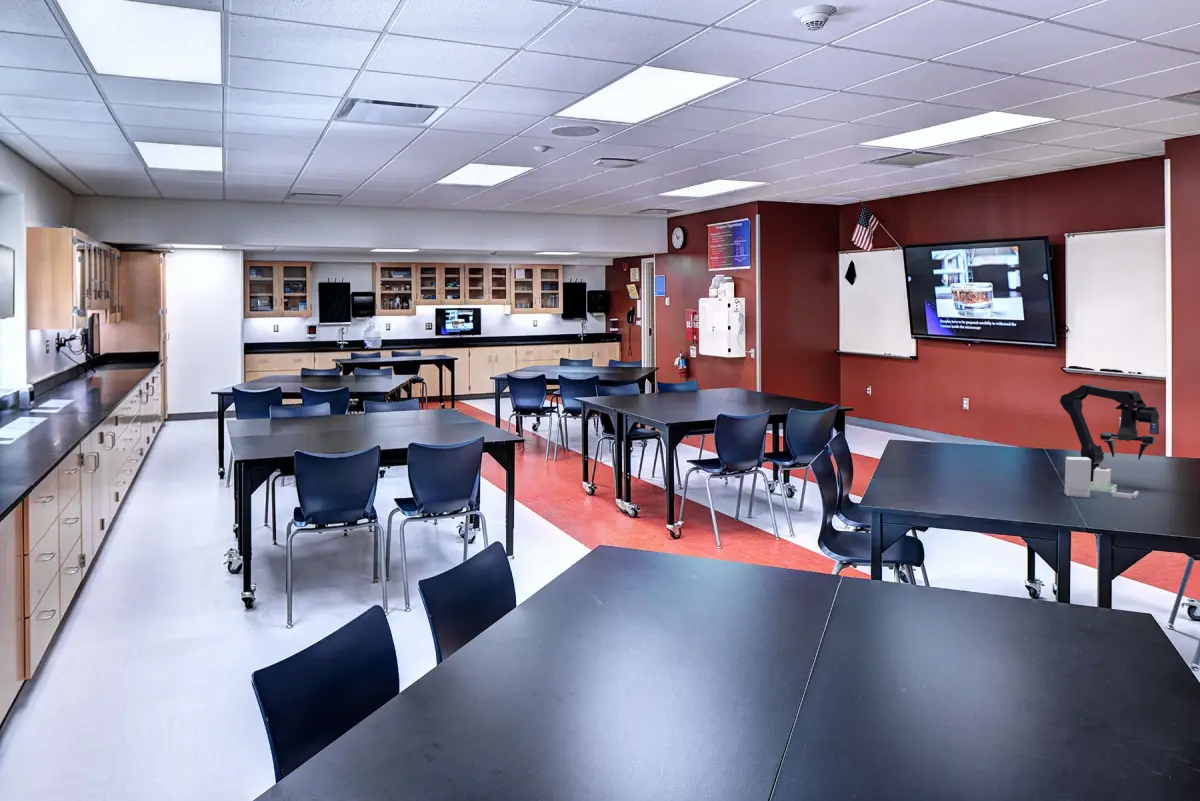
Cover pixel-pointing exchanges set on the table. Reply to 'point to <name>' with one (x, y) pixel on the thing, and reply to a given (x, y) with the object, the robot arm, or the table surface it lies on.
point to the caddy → (1102, 477)
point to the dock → (1123, 494)
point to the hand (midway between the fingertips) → (1126, 458)
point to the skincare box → (1077, 476)
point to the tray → (1099, 489)
